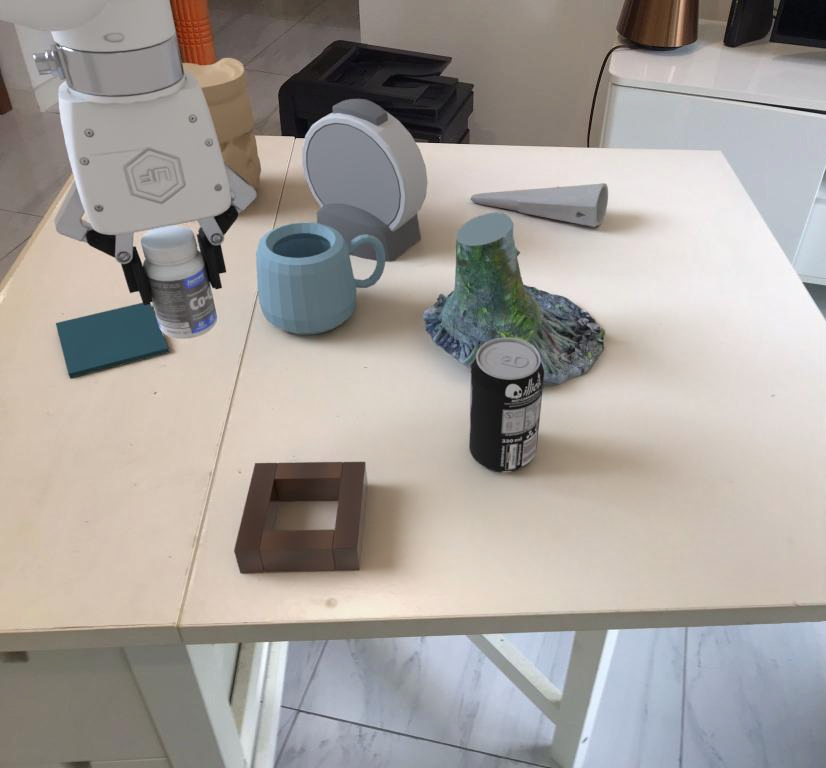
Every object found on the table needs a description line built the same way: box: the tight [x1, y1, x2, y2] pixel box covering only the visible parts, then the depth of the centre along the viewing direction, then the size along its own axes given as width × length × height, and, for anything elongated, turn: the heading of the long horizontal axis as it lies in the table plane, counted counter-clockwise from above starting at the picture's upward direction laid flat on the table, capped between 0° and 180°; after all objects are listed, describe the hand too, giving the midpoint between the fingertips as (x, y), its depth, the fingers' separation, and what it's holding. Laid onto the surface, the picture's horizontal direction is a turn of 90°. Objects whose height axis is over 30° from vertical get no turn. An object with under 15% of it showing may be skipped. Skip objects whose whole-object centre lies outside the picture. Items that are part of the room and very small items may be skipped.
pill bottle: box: [140, 225, 218, 340], centre depth 66 cm, size 5×5×8 cm
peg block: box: [233, 461, 368, 574], centre depth 70 cm, size 10×10×3 cm
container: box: [182, 57, 262, 192], centre depth 109 cm, size 13×13×18 cm
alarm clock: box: [301, 98, 429, 262], centre depth 103 cm, size 16×10×18 cm, turn 62°
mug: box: [255, 222, 386, 336], centre depth 92 cm, size 15×11×10 cm
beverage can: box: [468, 338, 544, 473], centre depth 75 cm, size 7×7×12 cm
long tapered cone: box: [470, 183, 609, 228], centre depth 116 cm, size 6×6×19 cm
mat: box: [55, 302, 170, 379], centre depth 89 cm, size 10×10×1 cm
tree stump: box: [422, 212, 606, 387], centre depth 88 cm, size 18×20×18 cm
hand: (179, 286), depth 66 cm, fingers closed on pill bottle, 4 cm apart
